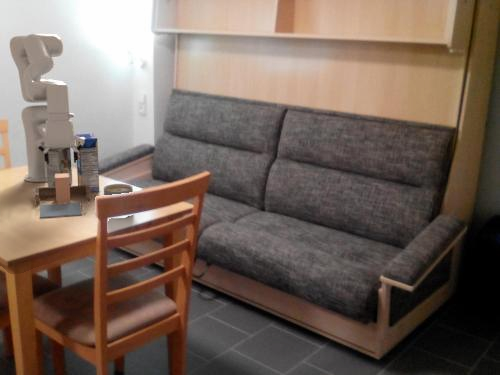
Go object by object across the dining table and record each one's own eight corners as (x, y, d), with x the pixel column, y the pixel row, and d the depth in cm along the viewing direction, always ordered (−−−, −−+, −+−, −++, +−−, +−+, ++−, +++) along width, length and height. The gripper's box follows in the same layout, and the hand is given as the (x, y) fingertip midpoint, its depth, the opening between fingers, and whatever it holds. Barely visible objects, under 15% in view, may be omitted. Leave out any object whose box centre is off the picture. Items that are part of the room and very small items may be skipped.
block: (56, 198, 208) (54, 173, 205) (70, 198, 209) (68, 173, 206) (56, 203, 202) (54, 177, 199) (70, 202, 204) (69, 177, 201)
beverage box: (82, 193, 215) (79, 139, 209) (78, 186, 225) (75, 134, 219) (99, 192, 218) (97, 138, 212) (94, 184, 228) (92, 133, 222)
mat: (40, 205, 198) (40, 204, 198) (80, 203, 203) (80, 202, 203) (39, 218, 186) (39, 216, 186) (82, 215, 190) (81, 214, 190)
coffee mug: (101, 211, 195) (100, 185, 192) (128, 208, 200) (127, 182, 197) (112, 223, 184) (111, 195, 181) (140, 219, 189) (139, 192, 186)
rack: (36, 197, 208) (36, 187, 206) (88, 194, 214) (88, 185, 213) (35, 205, 199) (35, 195, 198) (90, 202, 205) (89, 192, 204)
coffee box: (59, 181, 230) (56, 145, 226) (72, 183, 229) (70, 146, 224) (47, 187, 221) (44, 149, 217) (61, 188, 220) (59, 150, 216)
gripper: (82, 115, 203) (85, 159, 207) (33, 116, 197) (37, 161, 202) (83, 118, 196) (86, 163, 200) (32, 118, 190) (36, 166, 195)
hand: (61, 162), depth 201 cm, fingers open, 9 cm apart
